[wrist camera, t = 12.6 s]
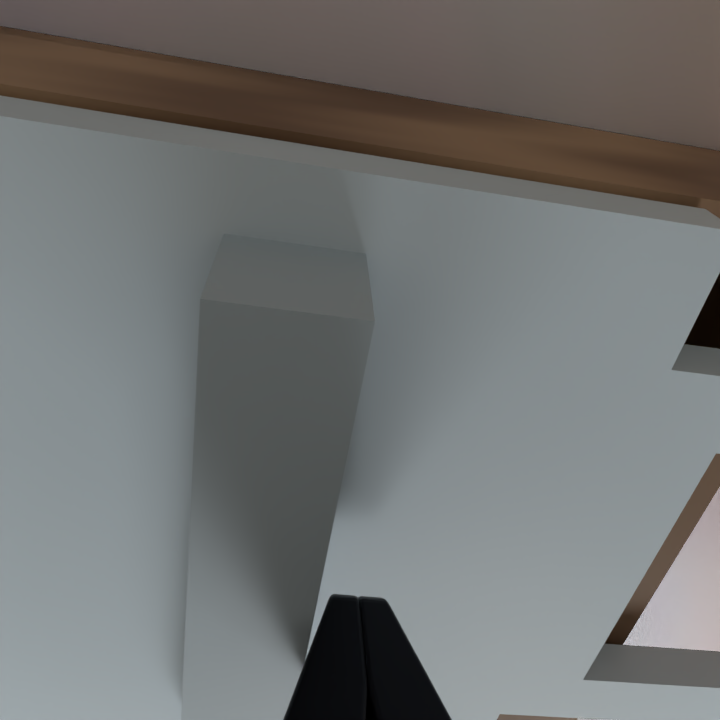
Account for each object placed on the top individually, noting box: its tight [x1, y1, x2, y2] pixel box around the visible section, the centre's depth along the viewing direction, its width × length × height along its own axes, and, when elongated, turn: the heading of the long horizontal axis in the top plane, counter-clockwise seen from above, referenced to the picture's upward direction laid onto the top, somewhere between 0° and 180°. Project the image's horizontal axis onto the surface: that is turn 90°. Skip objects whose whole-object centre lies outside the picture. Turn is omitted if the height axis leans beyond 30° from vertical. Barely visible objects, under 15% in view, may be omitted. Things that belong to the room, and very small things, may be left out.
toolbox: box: [0, 26, 720, 720], centre depth 12 cm, size 16×12×4 cm
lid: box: [0, 95, 720, 720], centre depth 10 cm, size 24×12×2 cm, turn 80°
